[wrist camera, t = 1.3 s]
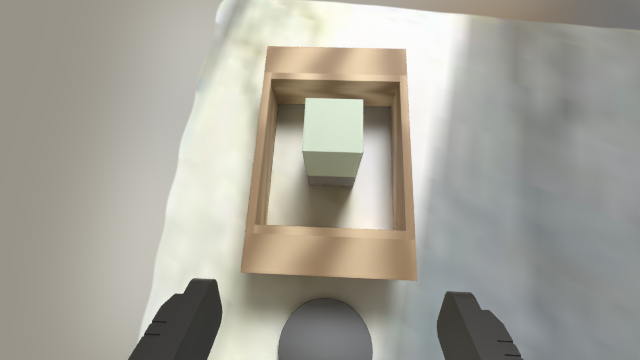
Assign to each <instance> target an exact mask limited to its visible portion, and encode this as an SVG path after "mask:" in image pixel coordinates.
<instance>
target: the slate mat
mask: <svg viewBox="0 0 640 360" xmlns="http://www.w3.org/2000/svg"><path fill="white" fill-rule="evenodd" d="M278 354H279V360H372V354H373V351H372V342H371V337H370V334H369V331H368V329H367V326H366V325H365V323H364V321H363V320H362V318H361V317H360V316H359V314H358V313H357V312H356V311H355V310H354V309H352V308H351V307H350V306H348V305H347V304H345V303H343V302H341V301H338V300H334V299H328V298H321V299H315V300H312V301H309V302H307V303H305V304H303V305H302V306H300V307H299V308H298V309H297V310H296V311H295V312H294V313H293V314H292V315H291V316H290V317H289V319H288V320H287V322H286V324H285V326H284V328H283V330H282V333H281V336H280V340H279V353H278Z"/></svg>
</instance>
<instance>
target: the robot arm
mask: <svg viewBox="0 0 640 360" xmlns="http://www.w3.org/2000/svg"><path fill="white" fill-rule="evenodd" d="M221 319H222V305H221V300H220V295H219V290H218V285H217V281H216V280H215V279H198V278H194V279H192V280H191V281H190V283H189V284H188V286H187V288H186V290H185V291H184V293H183V294H174V295H173V296H172V297H171V298H170V299H169V300H167V301H166V302H165V303H164V304H163V305H162V306H161V307H160V309H159V311H158V312H157V314H156V315H155V317H154V319H153V320H152V324H150V325H149V327H148V328H147V330H146V331H145V333H144V336H143V337H142V338H141V340H140V341H139V343H138V344H137V346H136V348H135V349H134V351H133V352H132V354H131V356H130V357H129V359H128V360H207V358H208V356H209V353H210V351H211V348H212V345H213V343H214V340H215V338H216V335H217V332H218V330H219V327H220V324H221ZM437 333H438V338H439V342H440V345H441V348H442V351H443V354H444V357H445V360H523V359H522V358H521V354H520V353H519V351H518V349H517V347H516V346H515V344H513V340H512V338H511V337H510V335H509V333H508V331H507V330H506V328H505V326H504V324H503V323H502V322H501V321H500V320H499V319H498V318H497V317H496V316H495V315H494V314H493V313H492V312H491V311H490V310H481V308H480V306H479V304H478V302H477V300H476V298H475V297H474V295H473V294H472V293H470V292H450V291H448V292H446V294H445V297H444V300H443V303H442V307H441V310H440V313H439V317H438V320H437Z"/></svg>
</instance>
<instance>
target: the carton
mask: <svg viewBox="0 0 640 360" xmlns="http://www.w3.org/2000/svg"><path fill="white" fill-rule="evenodd" d="M306 98H326V99H363V106H388V107H390V109H391V143H392V177H393V211H394V230H374V229H350V228H326V227H302V226H278V225H266V222H267V212H268V202H269V192H270V182H271V172H272V162H273V152H274V142H275V132H276V122H277V112H278V104H305V102H306ZM241 272H245V273H266V274H287V275H307V276H328V277H349V278H370V279H391V280H412V281H417V263H416V243H415V223H414V203H413V184H412V164H411V144H410V124H409V104H408V84H407V64H406V49H377V48H325V47H274V46H268V47H267V56H266V64H265V73H264V81H263V89H262V98H261V106H260V114H259V123H258V131H257V139H256V148H255V156H254V164H253V173H252V181H251V189H250V198H249V206H248V214H247V223H246V231H245V240H244V248H243V256H242V265H241Z"/></svg>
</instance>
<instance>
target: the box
mask: <svg viewBox="0 0 640 360" xmlns="http://www.w3.org/2000/svg"><path fill="white" fill-rule="evenodd" d="M302 153H303V157H304V162H305V167H306V172H307V176H308V181H309V185H322V186H349V187H353V185H354V182H355V178H356V175H357V172H358V168H359V165H360V162H361V158H362V155H363V99H326V98H306V102H305V116H304V131H303V145H302Z"/></svg>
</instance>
